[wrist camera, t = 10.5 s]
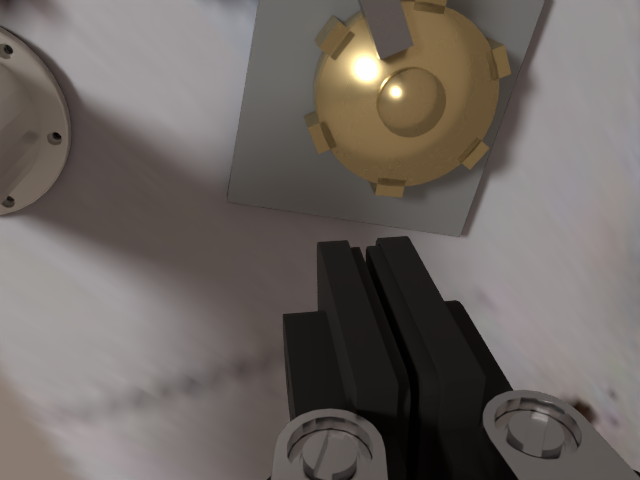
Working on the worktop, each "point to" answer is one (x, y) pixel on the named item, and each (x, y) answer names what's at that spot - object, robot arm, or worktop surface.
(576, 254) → the worktop surface
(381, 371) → the robot arm
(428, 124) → the gold domed lever dial
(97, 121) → the worktop surface
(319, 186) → the base plate
